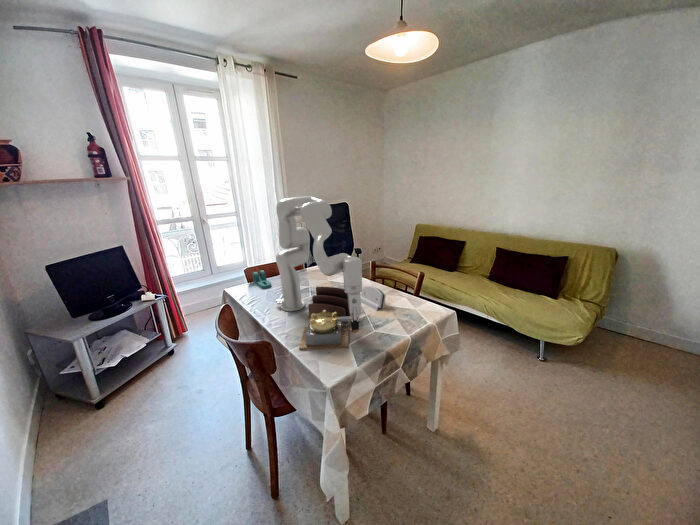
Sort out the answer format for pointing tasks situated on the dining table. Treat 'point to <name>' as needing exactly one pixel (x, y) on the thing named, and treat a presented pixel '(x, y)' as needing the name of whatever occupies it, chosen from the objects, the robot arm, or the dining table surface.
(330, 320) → the gold rounded piece
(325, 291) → the letter holder
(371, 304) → the hinge
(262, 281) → the bracket
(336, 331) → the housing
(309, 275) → the dining table surface
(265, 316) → the dining table surface
